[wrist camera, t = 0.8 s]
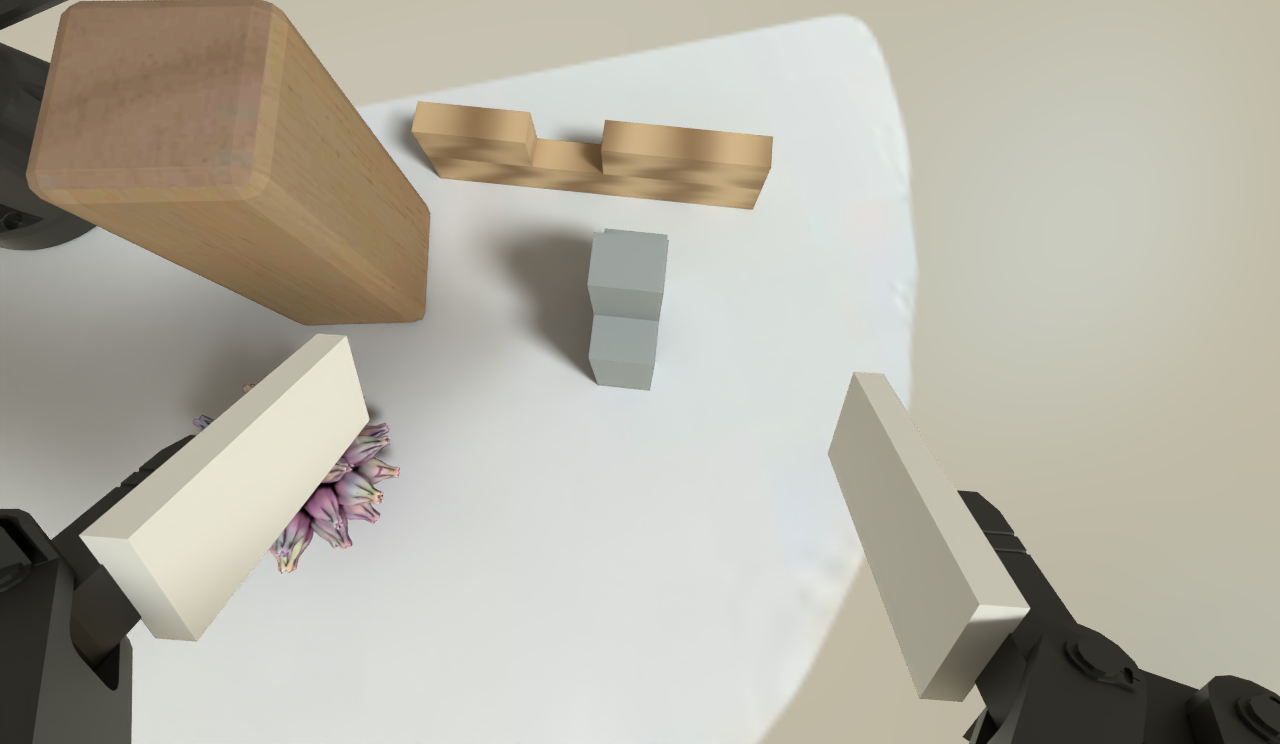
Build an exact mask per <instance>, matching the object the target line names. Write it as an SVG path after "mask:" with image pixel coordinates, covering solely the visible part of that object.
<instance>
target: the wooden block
mask: <svg viewBox="0 0 1280 744" xmlns="http://www.w3.org/2000/svg"><path fill="white" fill-rule="evenodd" d="M26 178H27V181H28V185H29V189H31V190H32V191H33V192H34V193H35V194H36V195H37V196H38V197H39V198H41V199H43V200H45V201H47V202H49V203H51V204H53V205H55V206H57V207H59V208H61V209H63V210H65V211H68V212H70V213H72V214H74V215H76V216H78V217H80V218H82V219H84V220H86V221H88V222H90V223H92V224H95V225H97V226H99V227H101V228H103V229H105V230H107V231H109V232H111V233H113V234H115V235H117V236H119V237H122V238H124V239H126V240H128V241H130V242H132V243H134V244H136V245H138V246H140V247H142V248H144V249H146V250H149V251H151V252H153V253H155V254H157V255H159V256H161V257H163V258H165V259H167V260H169V261H171V262H173V263H176V264H178V265H180V266H182V267H184V268H186V269H188V270H190V271H192V272H194V273H196V274H198V275H201V276H203V277H205V278H207V279H209V280H211V281H213V282H215V283H217V284H219V285H221V286H223V287H225V288H228V289H230V290H232V291H234V292H236V293H238V294H240V295H242V296H244V297H246V298H248V299H250V300H252V301H255V302H257V303H259V304H261V305H263V306H265V307H267V308H269V309H271V310H273V311H275V312H277V313H279V314H282V315H284V316H286V317H288V318H290V319H292V320H294V321H296V322H299V323H301V324H304V325H327V324H365V323H403V322H415V321H418V320H421V319H422V318H423V316H424V313H425V304H426V284H427V265H428V246H429V227H430V212H429V210H428V207H427V205H426V204H425V202H424V201H423V200H422V198H421V197H420V196H419V194H418V193H417V192H416V190H415V189H414V188H413V186H412V185H411V183H410V182H409V181H408V179H407V178H406V177H405V175H404V174H403V173H402V171H401V170H400V169H399V167H398V166H397V165H396V163H395V162H394V161H393V159H392V158H391V156H390V155H389V154H388V152H387V151H386V150H385V148H384V147H383V146H382V144H381V143H380V142H379V140H378V139H377V138H376V136H375V135H374V134H373V132H372V131H371V129H370V128H369V127H368V125H367V124H366V123H365V121H364V120H363V119H362V117H361V116H360V115H359V113H358V112H357V111H356V109H355V108H354V107H353V105H352V104H351V103H350V101H349V100H348V98H347V97H346V96H345V94H344V93H343V92H342V90H341V89H340V88H339V87H338V85H337V84H336V82H335V81H334V80H333V78H332V77H331V75H330V74H329V73H328V71H327V70H326V69H325V67H324V66H323V65H322V63H321V62H320V61H319V59H318V58H317V57H316V55H315V54H314V53H313V51H312V50H311V48H310V47H309V46H308V45H307V43H306V42H305V40H304V39H303V38H302V36H301V35H300V34H299V32H298V31H297V30H296V28H295V27H294V26H293V24H292V23H291V21H290V20H289V19H288V17H287V16H286V15H285V13H284V12H282V10H280V9H279V8H278V7H276V6H275V5H273V4H272V3H269V2H266V1H263V0H153V1H152V0H151V1H150V0H147V1H145V0H144V1H80V2H78V3H76V4H74V5H72V6H70V7H69V8H68V9H67V10H66V11H65V12H64V13H63V14H62V15H61V18H60V23H59V27H58V32H57V36H56V41H55V45H54V50H53V54H52V59H51V63H50V68H49V72H48V77H47V81H46V85H45V90H44V94H43V99H42V103H41V108H40V112H39V117H38V121H37V126H36V130H35V135H34V139H33V144H32V148H31V153H30V157H29V162H28V166H27V171H26Z"/></svg>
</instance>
